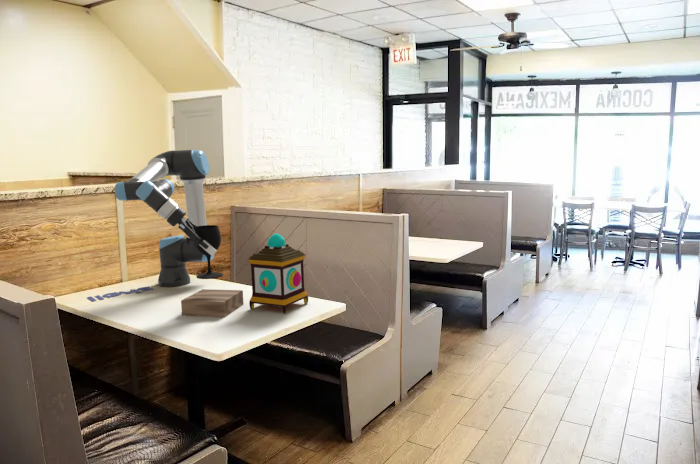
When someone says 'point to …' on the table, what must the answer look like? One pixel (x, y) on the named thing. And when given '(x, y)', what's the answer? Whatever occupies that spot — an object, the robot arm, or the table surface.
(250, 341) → the table surface
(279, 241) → the decorative lantern
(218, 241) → the wine glass
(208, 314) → the walnut block
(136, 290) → the signage
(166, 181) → the robot arm
